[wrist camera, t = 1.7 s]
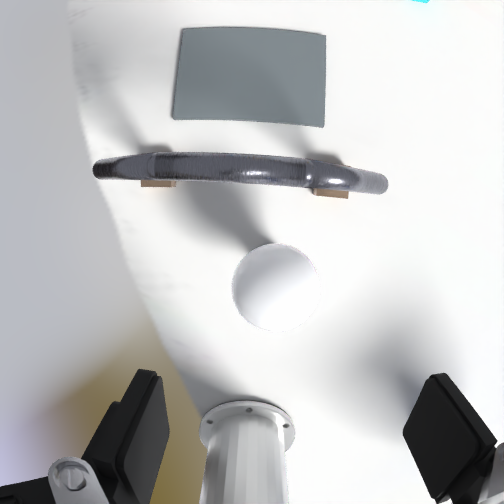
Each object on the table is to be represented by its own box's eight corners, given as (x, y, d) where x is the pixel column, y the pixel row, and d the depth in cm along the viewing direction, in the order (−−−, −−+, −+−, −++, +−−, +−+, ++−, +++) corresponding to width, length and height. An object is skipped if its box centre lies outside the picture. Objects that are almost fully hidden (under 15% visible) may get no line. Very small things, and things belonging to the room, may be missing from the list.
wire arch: (343, 197, 28) (439, 225, 12) (146, 186, 28) (35, 202, 12) (345, 166, 27) (445, 160, 11) (147, 155, 27) (37, 141, 11)
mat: (322, 127, 26) (324, 126, 26) (174, 119, 26) (173, 118, 26) (324, 37, 24) (325, 35, 23) (185, 31, 24) (183, 29, 23)
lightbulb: (252, 216, 28) (249, 240, 18) (313, 240, 29) (345, 277, 18) (228, 276, 30) (214, 330, 19) (288, 298, 30) (302, 359, 20)
